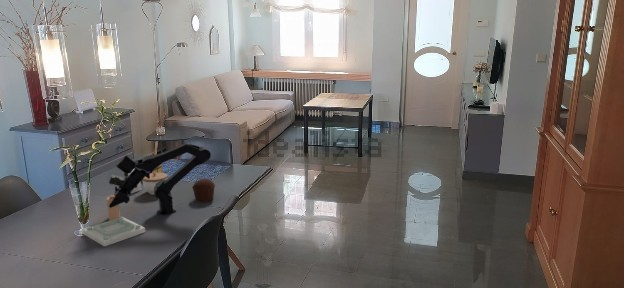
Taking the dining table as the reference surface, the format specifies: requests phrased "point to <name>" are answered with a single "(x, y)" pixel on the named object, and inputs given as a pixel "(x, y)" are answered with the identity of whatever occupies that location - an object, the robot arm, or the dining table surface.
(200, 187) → the muffin
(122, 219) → the base plate
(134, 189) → the medicine bottle
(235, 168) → the dining table surface
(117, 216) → the tall brick
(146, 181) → the lidded bowl
